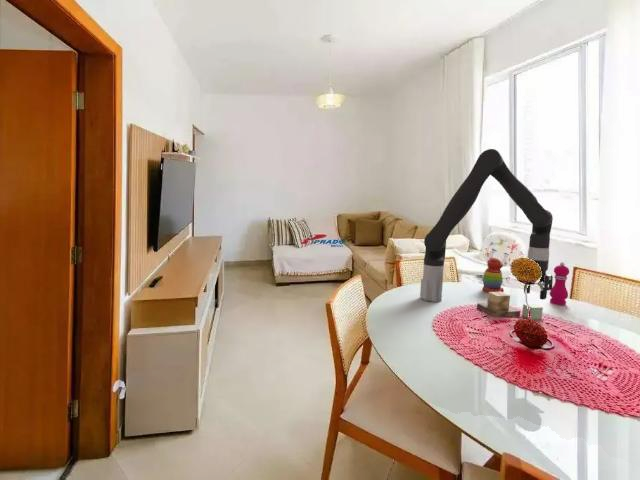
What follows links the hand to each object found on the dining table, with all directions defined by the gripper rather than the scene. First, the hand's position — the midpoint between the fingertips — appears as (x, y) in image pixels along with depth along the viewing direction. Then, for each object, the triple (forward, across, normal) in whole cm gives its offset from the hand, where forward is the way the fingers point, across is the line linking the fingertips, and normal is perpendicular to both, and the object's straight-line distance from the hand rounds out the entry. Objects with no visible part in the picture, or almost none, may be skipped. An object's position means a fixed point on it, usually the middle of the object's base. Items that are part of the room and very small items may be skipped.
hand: (534, 296), depth 145 cm
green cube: (+9, 0, 0) cm, 9 cm away
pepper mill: (+9, -15, +27) cm, 32 cm away
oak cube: (+7, -8, -10) cm, 15 cm away
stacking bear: (+9, -38, +9) cm, 40 cm away
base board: (+9, -8, -10) cm, 16 cm away
